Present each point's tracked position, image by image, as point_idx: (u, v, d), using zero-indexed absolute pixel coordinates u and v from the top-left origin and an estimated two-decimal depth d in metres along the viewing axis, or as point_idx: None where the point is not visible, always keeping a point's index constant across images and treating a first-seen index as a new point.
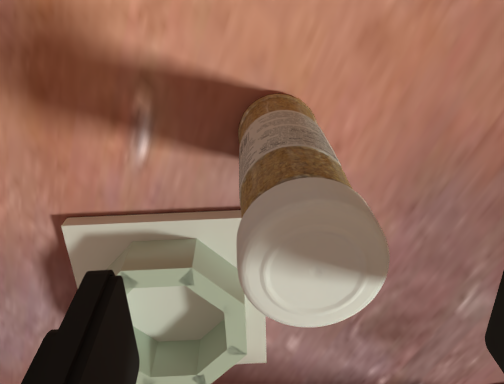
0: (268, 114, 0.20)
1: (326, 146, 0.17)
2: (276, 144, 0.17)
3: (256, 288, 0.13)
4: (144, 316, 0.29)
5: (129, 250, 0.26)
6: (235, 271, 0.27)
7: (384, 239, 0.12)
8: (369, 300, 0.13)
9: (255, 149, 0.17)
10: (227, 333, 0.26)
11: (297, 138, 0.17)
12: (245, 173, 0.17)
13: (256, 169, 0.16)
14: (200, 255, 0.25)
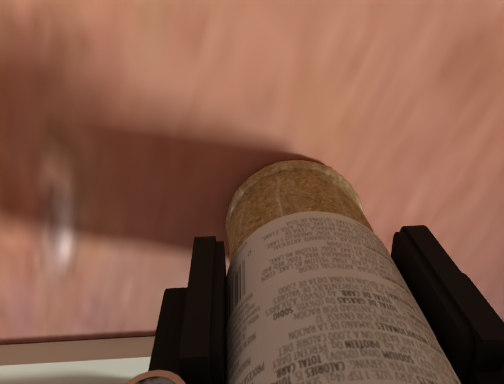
0: (283, 223, 0.10)
1: (431, 349, 0.07)
2: (316, 368, 0.06)
3: None
4: None
5: None
6: None
7: None
8: None
9: (260, 357, 0.07)
10: None
11: (366, 342, 0.07)
12: None
13: None
14: None
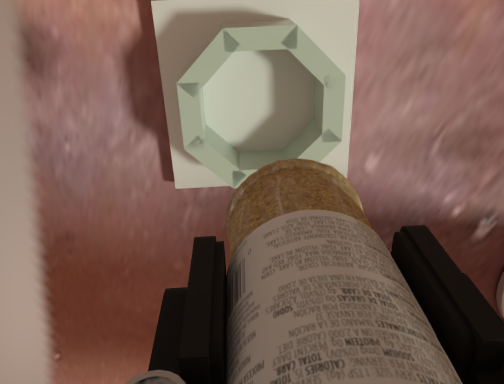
0: (283, 222, 0.10)
1: (432, 347, 0.07)
2: (316, 365, 0.06)
3: None
4: (227, 119, 0.28)
5: (223, 24, 0.25)
6: None
7: None
8: None
9: (260, 354, 0.07)
10: (324, 113, 0.25)
11: (367, 339, 0.07)
12: None
13: None
14: None
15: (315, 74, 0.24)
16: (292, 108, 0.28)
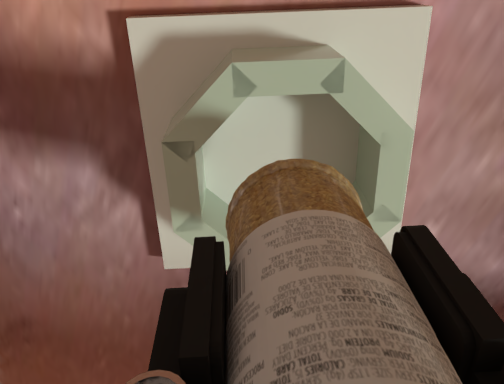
0: (283, 222, 0.10)
1: (432, 347, 0.07)
2: (315, 366, 0.06)
3: None
4: (236, 181, 0.20)
5: (232, 53, 0.17)
6: None
7: None
8: None
9: (260, 355, 0.07)
10: (379, 183, 0.17)
11: (367, 340, 0.07)
12: None
13: None
14: None
15: (369, 129, 0.16)
16: None
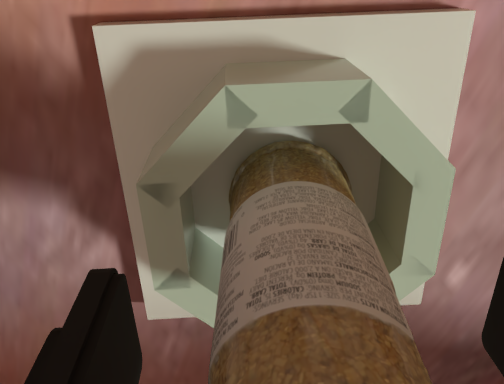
0: (272, 190, 0.12)
1: (380, 285, 0.09)
2: (282, 290, 0.08)
3: None
4: None
5: (226, 70, 0.13)
6: None
7: None
8: None
9: (241, 286, 0.09)
10: (409, 231, 0.14)
11: (325, 273, 0.08)
12: (218, 344, 0.08)
13: (237, 355, 0.08)
14: None
15: (399, 167, 0.13)
16: None
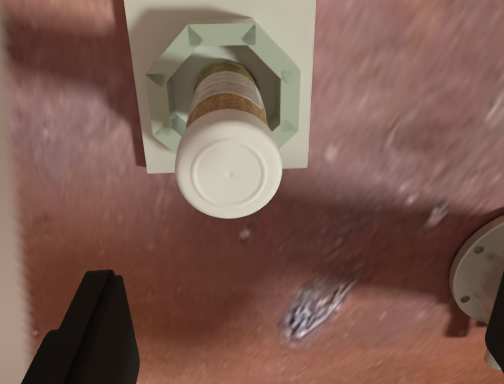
0: (213, 74, 0.26)
1: (252, 96, 0.23)
2: (212, 92, 0.22)
3: (187, 186, 0.18)
4: None
5: (190, 20, 0.27)
6: (287, 54, 0.28)
7: (276, 150, 0.18)
8: (269, 197, 0.19)
9: (198, 98, 0.23)
10: (282, 104, 0.27)
11: (229, 88, 0.22)
12: (189, 114, 0.22)
13: (195, 109, 0.21)
14: None
15: (273, 68, 0.26)
16: None
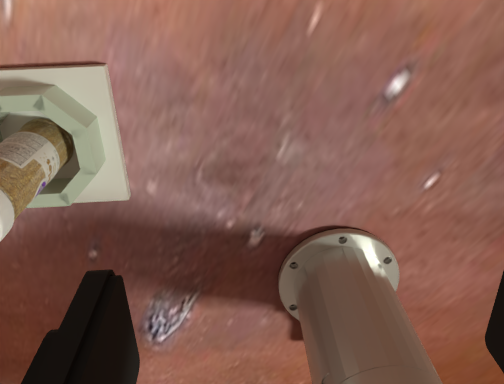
0: (12, 134, 0.33)
1: (20, 156, 0.29)
2: None
3: None
4: None
5: (1, 90, 0.34)
6: (88, 112, 0.35)
7: None
8: None
9: None
10: (78, 154, 0.34)
11: None
12: None
13: None
14: (54, 93, 0.34)
15: (63, 127, 0.33)
16: (73, 147, 0.37)
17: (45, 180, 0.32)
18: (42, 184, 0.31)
